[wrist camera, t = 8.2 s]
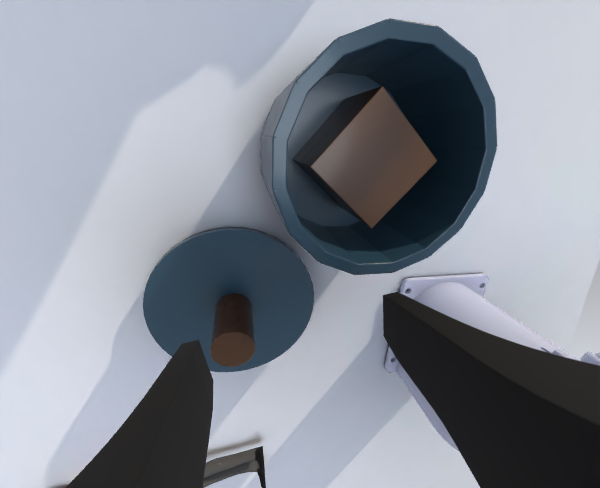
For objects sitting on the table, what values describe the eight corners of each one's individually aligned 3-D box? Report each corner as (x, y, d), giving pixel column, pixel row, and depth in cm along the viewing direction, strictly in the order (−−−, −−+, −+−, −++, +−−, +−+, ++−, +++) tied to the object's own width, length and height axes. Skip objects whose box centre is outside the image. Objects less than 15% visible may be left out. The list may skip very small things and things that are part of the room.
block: (391, 154, 18) (437, 160, 14) (341, 207, 18) (371, 229, 14) (345, 98, 16) (383, 85, 12) (292, 158, 17) (309, 166, 12)
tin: (399, 230, 20) (463, 269, 15) (260, 234, 18) (270, 280, 13) (428, 72, 17) (529, 38, 11) (259, 53, 15) (273, 0, 9)
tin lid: (306, 352, 23) (323, 408, 18) (160, 369, 21) (137, 437, 16) (315, 223, 19) (340, 252, 14) (134, 226, 17) (94, 262, 12)
